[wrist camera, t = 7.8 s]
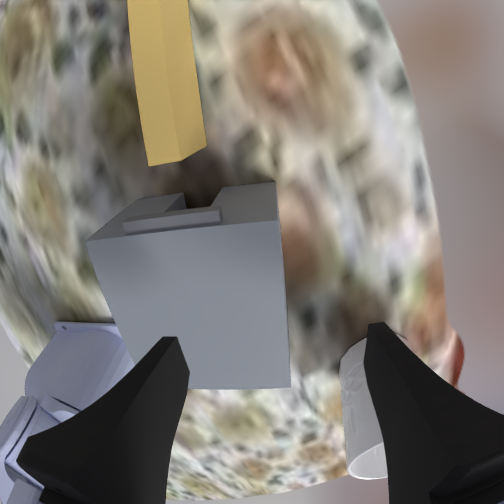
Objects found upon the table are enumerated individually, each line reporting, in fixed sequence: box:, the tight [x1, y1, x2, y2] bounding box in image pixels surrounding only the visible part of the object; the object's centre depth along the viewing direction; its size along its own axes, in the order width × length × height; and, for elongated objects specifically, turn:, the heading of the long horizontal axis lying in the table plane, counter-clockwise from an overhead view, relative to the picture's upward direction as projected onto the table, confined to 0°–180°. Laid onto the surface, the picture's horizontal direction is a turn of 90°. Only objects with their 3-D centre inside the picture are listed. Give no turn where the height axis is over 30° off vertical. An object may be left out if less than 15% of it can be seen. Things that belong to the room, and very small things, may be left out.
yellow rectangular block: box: [127, 0, 207, 166], centre depth 13 cm, size 2×10×6 cm, turn 7°
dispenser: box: [85, 182, 291, 389], centre depth 18 cm, size 9×11×7 cm
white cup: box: [339, 334, 415, 479], centre depth 20 cm, size 8×8×10 cm
